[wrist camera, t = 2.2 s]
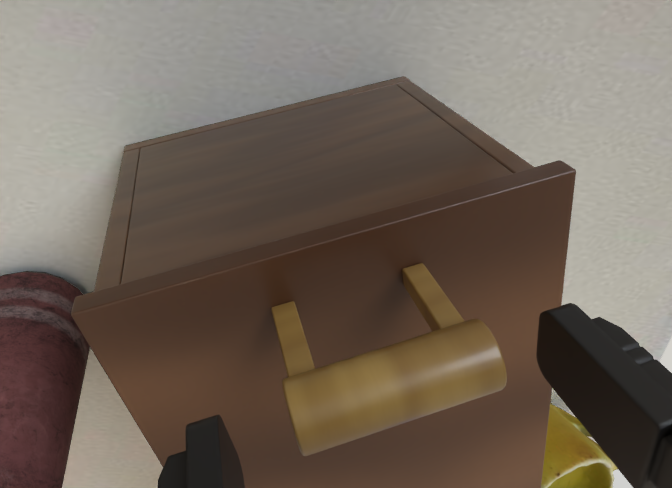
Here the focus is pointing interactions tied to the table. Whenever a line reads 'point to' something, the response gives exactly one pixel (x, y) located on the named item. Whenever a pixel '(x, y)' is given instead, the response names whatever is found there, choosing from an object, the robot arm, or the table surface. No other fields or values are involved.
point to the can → (38, 378)
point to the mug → (573, 455)
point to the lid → (357, 343)
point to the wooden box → (288, 175)
